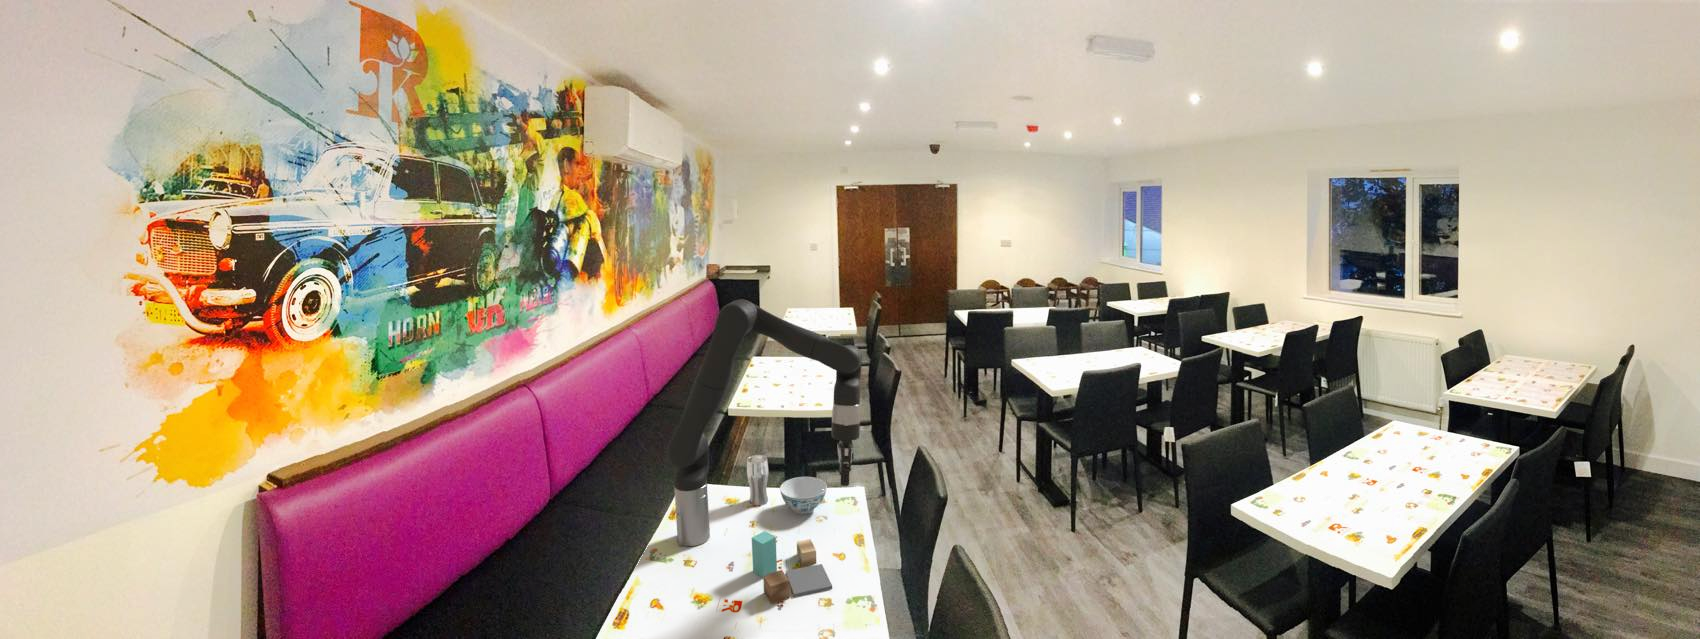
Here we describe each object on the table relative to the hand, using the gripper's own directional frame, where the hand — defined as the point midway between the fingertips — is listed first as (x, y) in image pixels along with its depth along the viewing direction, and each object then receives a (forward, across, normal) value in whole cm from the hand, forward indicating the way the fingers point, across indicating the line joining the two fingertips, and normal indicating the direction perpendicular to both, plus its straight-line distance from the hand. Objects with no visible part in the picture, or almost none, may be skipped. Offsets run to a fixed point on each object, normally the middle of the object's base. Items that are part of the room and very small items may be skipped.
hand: (843, 480), depth 159 cm
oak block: (+24, -5, -9) cm, 27 cm away
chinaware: (+21, -33, -11) cm, 40 cm away
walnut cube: (+27, +10, -16) cm, 33 cm away
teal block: (+25, 0, -20) cm, 33 cm away
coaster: (+25, +5, -9) cm, 27 cm away
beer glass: (+21, -39, -26) cm, 51 cm away
